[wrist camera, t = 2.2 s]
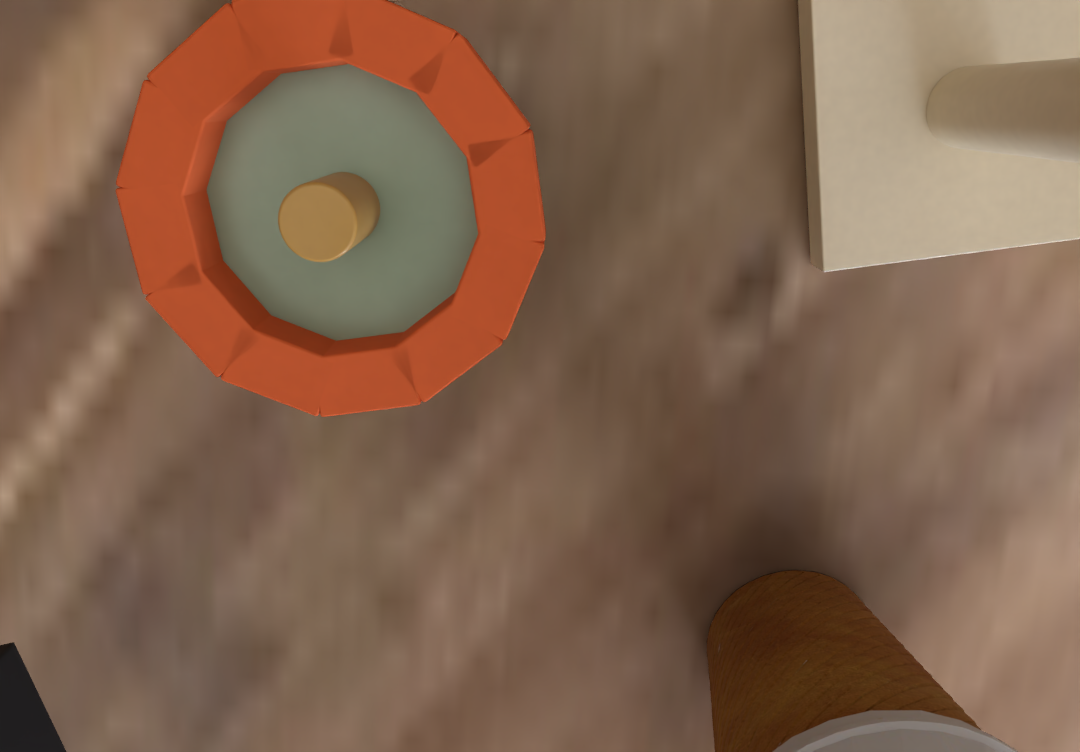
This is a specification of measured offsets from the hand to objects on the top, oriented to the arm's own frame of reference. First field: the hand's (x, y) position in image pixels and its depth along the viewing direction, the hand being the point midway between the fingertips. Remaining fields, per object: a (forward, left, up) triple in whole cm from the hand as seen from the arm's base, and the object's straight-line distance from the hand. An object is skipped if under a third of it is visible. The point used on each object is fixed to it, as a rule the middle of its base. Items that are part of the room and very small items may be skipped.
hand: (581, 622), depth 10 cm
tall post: (+13, +4, -21) cm, 25 cm away
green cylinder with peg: (-5, +4, -21) cm, 22 cm away
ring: (-5, +4, -14) cm, 16 cm away
